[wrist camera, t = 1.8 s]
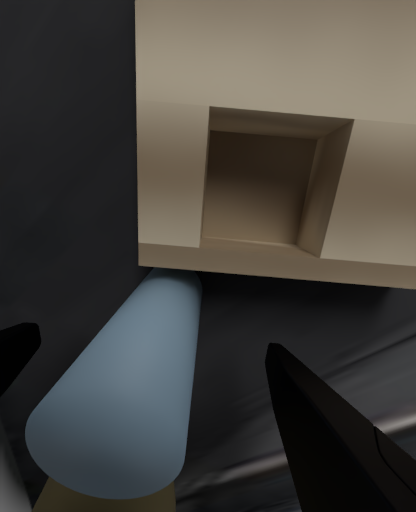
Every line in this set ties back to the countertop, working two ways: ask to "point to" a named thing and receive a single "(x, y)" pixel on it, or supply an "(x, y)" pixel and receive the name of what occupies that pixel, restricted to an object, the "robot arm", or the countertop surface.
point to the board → (278, 138)
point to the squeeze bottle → (101, 501)
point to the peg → (125, 396)
